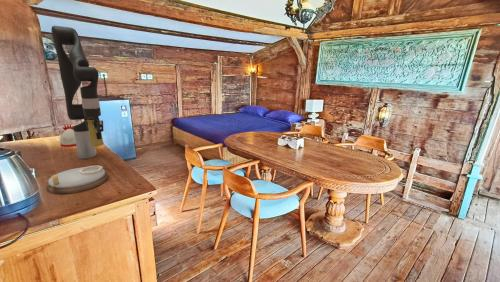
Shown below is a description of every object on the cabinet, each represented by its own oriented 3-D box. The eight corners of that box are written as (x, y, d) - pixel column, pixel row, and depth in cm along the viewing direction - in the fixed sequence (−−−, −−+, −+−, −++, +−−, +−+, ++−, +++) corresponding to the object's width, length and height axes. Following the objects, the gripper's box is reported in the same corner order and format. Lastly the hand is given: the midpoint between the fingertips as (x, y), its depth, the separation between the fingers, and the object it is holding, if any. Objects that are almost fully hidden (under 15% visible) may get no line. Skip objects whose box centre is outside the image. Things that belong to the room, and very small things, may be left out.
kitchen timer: (65, 142, 178) (61, 123, 174) (86, 141, 182) (83, 122, 178) (57, 147, 165) (52, 126, 161) (79, 146, 169) (76, 126, 165)
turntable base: (37, 185, 109) (36, 179, 109) (92, 169, 129) (91, 163, 129) (61, 199, 98) (60, 192, 97) (117, 179, 118) (116, 173, 117)
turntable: (40, 180, 109) (37, 170, 108) (90, 166, 128) (89, 156, 126) (62, 193, 99) (60, 181, 97) (114, 175, 117) (112, 165, 116)
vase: (87, 145, 125) (83, 119, 121) (98, 142, 131) (94, 117, 127) (96, 147, 123) (92, 120, 119) (106, 144, 129) (102, 118, 125)
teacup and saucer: (68, 137, 192) (67, 133, 191) (71, 139, 187) (70, 134, 186) (55, 139, 185) (54, 134, 184) (58, 141, 181) (56, 136, 179)
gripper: (76, 106, 122) (81, 137, 126) (91, 109, 115) (96, 141, 119) (91, 105, 128) (96, 134, 133) (106, 107, 121) (110, 138, 126)
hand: (96, 138), depth 126 cm, fingers closed on vase, 5 cm apart
